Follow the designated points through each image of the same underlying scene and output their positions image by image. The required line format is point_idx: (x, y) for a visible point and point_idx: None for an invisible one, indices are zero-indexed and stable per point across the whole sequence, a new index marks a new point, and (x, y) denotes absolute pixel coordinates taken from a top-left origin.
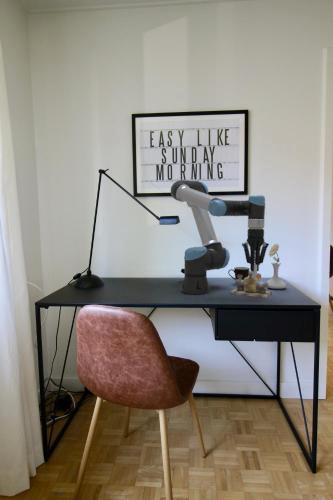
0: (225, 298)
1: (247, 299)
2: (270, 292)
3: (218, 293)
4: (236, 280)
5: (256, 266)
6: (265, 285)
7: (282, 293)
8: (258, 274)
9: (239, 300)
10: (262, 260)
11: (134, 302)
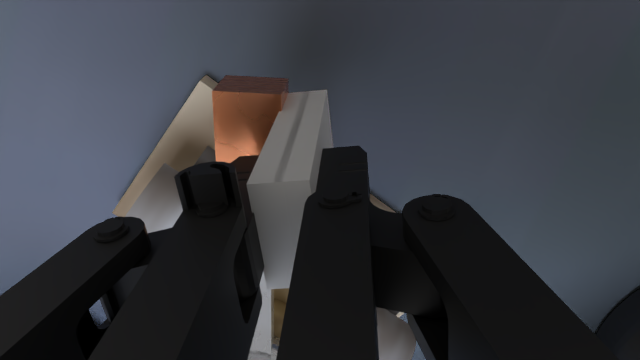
0: (574, 111)
1: (388, 53)
2: (129, 189)
3: (552, 272)
4: (405, 356)
5: (269, 168)
6: (163, 176)
7: (29, 210)
8: (251, 116)
9: (478, 25)
10: (77, 254)
11: None
